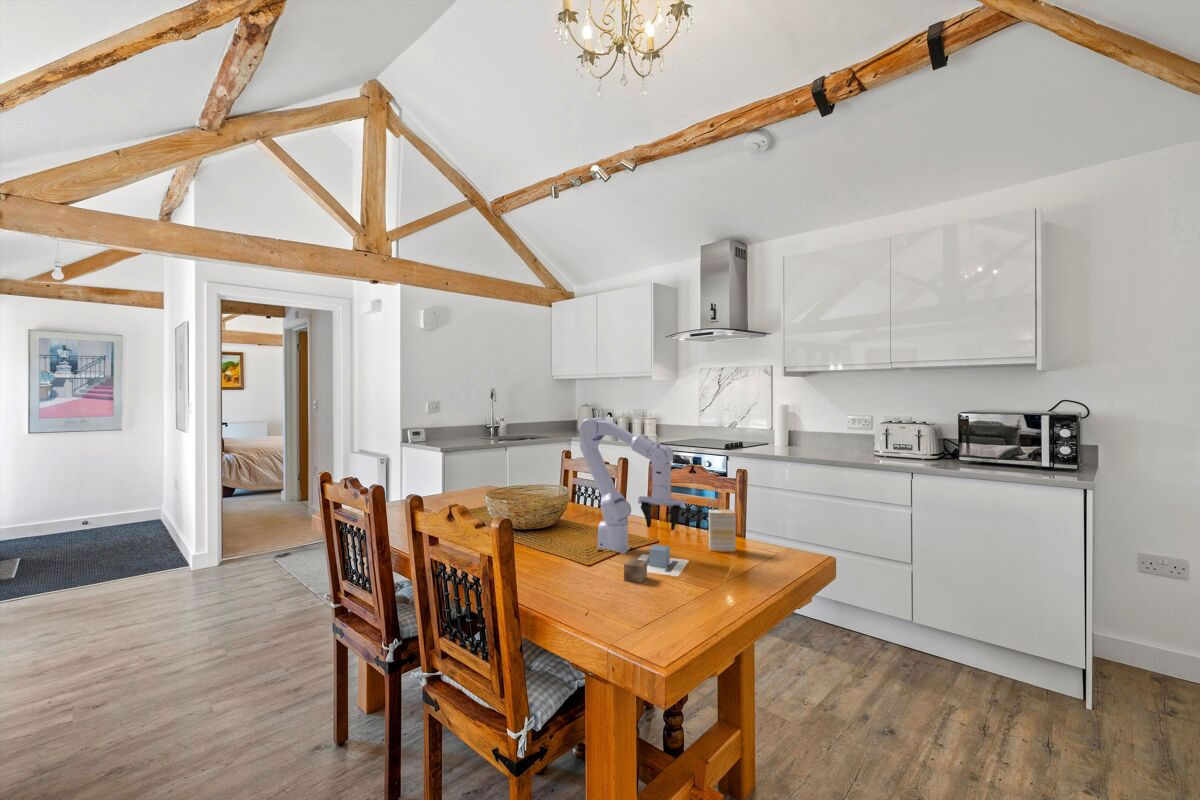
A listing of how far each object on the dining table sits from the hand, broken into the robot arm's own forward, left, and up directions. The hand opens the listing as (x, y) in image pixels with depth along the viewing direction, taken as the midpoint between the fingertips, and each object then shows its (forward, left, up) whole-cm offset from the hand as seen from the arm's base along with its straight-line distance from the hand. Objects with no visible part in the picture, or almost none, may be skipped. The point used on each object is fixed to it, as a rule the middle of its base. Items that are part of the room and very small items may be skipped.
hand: (661, 528), depth 171 cm
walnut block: (-1, -22, -9) cm, 24 cm away
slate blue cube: (+2, -8, -9) cm, 12 cm away
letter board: (+2, -8, -9) cm, 12 cm away
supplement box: (+17, +14, -9) cm, 24 cm away
